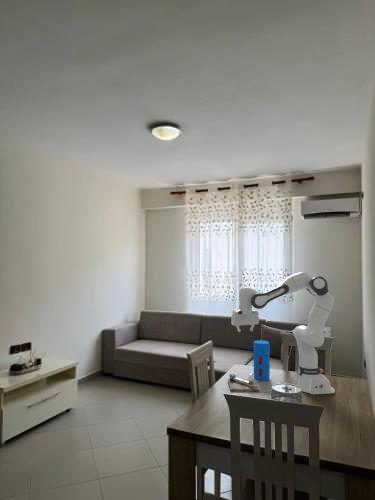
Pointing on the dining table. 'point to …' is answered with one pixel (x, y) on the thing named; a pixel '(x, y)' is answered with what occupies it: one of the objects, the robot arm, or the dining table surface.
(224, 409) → the dining table surface
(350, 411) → the dining table surface
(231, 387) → the press base
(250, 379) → the lever
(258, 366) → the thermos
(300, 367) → the robot arm
